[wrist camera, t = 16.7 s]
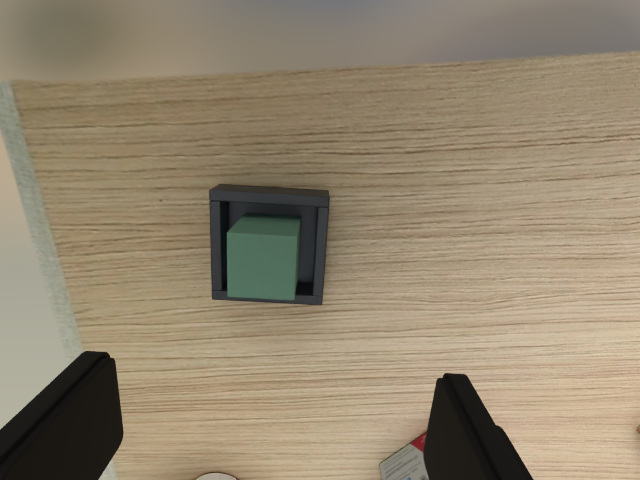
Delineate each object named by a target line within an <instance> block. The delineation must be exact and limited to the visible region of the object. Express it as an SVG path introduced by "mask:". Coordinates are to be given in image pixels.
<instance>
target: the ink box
mask: <svg viewBox="0 0 640 480" xmlns="http://www.w3.org/2000/svg"><path fill="white" fill-rule="evenodd" d="M426 434H427V432H426V433H425V434H423V435H422V436H420V437H419V438H417V439H416V440H414V441H413V442H412V443H410V444H409V445H407V446H406V447H404V448H403V449H401V450H400V451H398V452H397V453H396V454H394V455H393V456H391V457H390V458H388V459H387V460H385V461H384V462H382V463H381V464H380V471H381V476H382V480H429V478H428V474H427V471H426V468H425V464H424V459H423V450H424V444H425V439H426Z"/></svg>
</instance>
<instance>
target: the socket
mask: <svg viewBox="0 0 640 480" xmlns="http://www.w3.org/2000/svg"><path fill="white" fill-rule="evenodd" d="M209 198H210V200H211V201H210V237H211V277H212V299H214V300H233V301H251V302H270V303H289V304H307V305H322V300H323V286H324V271H325V257H326V242H327V228H328V214H329V199H330V197H329V191H328V190H311V189H295V188H278V187H262V186H245V185H229V184H219V185H218V186H216V187H214V188H212V189H210V190H209ZM244 213H259V214H275V215H292V216H301V237H300V257H299V271H298V278H297V285H296V292H295V299H294V300H277V299H259V298H240V297H228V296H227V232H228V231H229V230H230V229H231V228H232V227H233V225H234V224H235V223H236V222H237V221H238V220H239V219H240V218H241V217H242V216H243V215H244Z"/></svg>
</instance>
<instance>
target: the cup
mask: <svg viewBox="0 0 640 480" xmlns="http://www.w3.org/2000/svg"><path fill="white" fill-rule="evenodd" d="M196 480H237V479H236V478H234V477H232V476H230V475H227V474H222V473H209V474H205V475H202V476H200V477H198V478H197V479H196Z"/></svg>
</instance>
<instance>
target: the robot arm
mask: <svg viewBox="0 0 640 480" xmlns="http://www.w3.org/2000/svg"><path fill="white" fill-rule="evenodd" d="M122 438H123V424H122V416H121V407H120V398H119V390H118V381H117V373H116V364H115V360H114V358H110V355H109V354H108V353H107V352H95V351H85V352H83V353H82V354H81V355H80V356H79V357H77V358H76V359H75V360H74V361H73V362H72V363H71V364H70V365H69V366H68V367H67V368H66V369H65V370H64V371H63V372H61V373H60V374H59V375H58V376H57V377H56V378H55V379H54V380H53V381H52V382H51V383H50V384H49V385H48V386H47V387H45V388H44V389H43V390H42V391H41V392H40V393H39V394H38V395H37V396H36V397H35V398H34V399H33V400H32V401H31V402H29V403H28V404H27V405H26V406H25V407H24V408H23V409H22V410H21V411H20V412H19V413H18V414H17V415H16V416H15V417H13V418H12V419H11V420H10V421H9V422H8V423H7V424H6V425H5V426H4V427H3V428H2V429H1V430H0V480H98V479H99V478H100V476H101V475H102V473H103V471H104V470H105V468H106V467H107V465H108V464H109V462H110V460H111V459H112V457H113V456H114V454H115V453H116V451H117V449H118V448H119V446H120V444H121V442H122ZM423 459H424V464H425V468H426V471H427V474H428V478H429V480H533V478H532V477H531V475H530V473H529V472H528V470H527V468H526V467H525V465H524V463H523V462H522V460H521V458H520V457H519V455H518V453H517V452H516V450H515V448H514V447H513V445H512V443H511V442H510V440H509V438H508V437H507V435H506V433H505V432H504V431H503V429H502V428H501V427H499V426H498V425H495V423H494V422H493V420H492V418H491V416H490V415H489V413H488V411H487V409H486V408H485V406H484V404H483V403H482V401H481V399H480V397H479V396H478V394H477V392H476V391H475V389H474V387H473V385H472V384H471V382H470V380H469V379H468V377H467V376H466V375H465V374H451V373H445V374H444V375H443V378H438V379H437V382H436V387H435V392H434V397H433V403H432V408H431V413H430V418H429V423H428V428H427V434H426V439H425V444H424V450H423Z"/></svg>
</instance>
